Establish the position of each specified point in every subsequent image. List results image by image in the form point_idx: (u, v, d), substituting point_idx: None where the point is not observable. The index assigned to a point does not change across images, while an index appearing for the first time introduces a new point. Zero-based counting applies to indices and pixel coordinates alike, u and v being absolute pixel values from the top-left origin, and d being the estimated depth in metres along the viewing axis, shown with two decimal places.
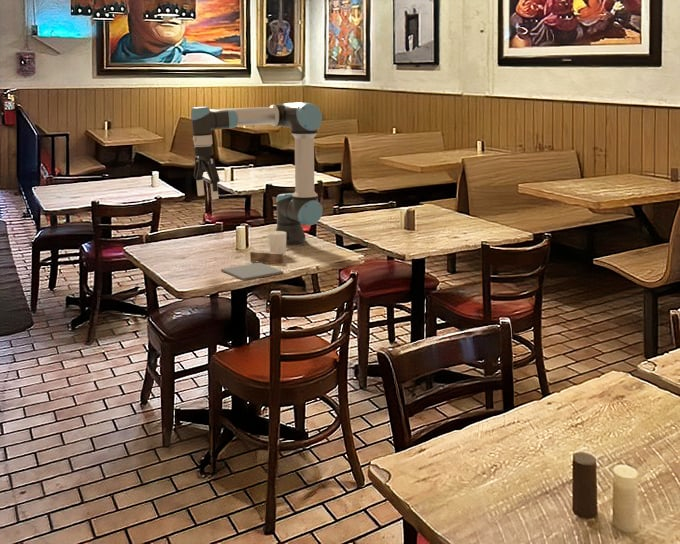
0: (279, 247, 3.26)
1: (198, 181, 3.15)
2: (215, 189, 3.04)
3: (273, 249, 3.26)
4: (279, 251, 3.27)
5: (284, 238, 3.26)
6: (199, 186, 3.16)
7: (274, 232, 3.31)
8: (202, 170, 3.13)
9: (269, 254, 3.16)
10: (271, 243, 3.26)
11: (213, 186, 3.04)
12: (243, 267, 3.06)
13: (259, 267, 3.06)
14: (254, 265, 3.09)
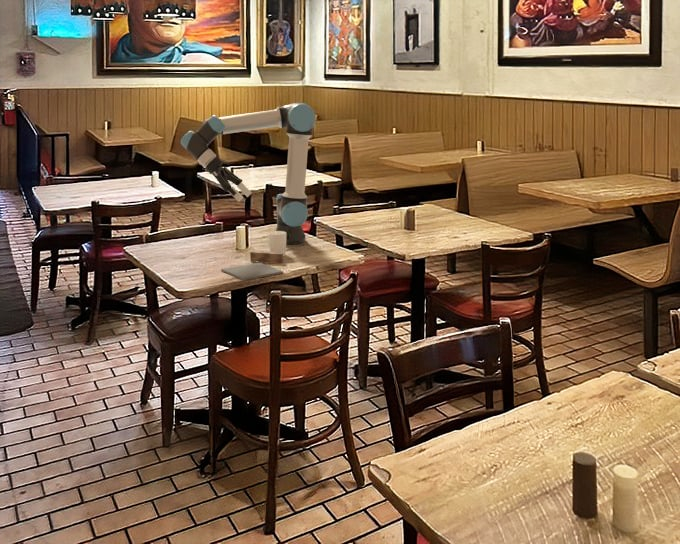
0: (279, 247, 3.26)
1: (238, 186, 3.32)
2: (232, 193, 3.18)
3: (273, 249, 3.26)
4: (279, 251, 3.27)
5: (284, 238, 3.26)
6: (242, 189, 3.33)
7: (274, 232, 3.31)
8: (231, 177, 3.29)
9: (269, 254, 3.16)
10: (271, 243, 3.26)
11: None
12: (243, 267, 3.06)
13: (259, 267, 3.06)
14: (254, 265, 3.09)
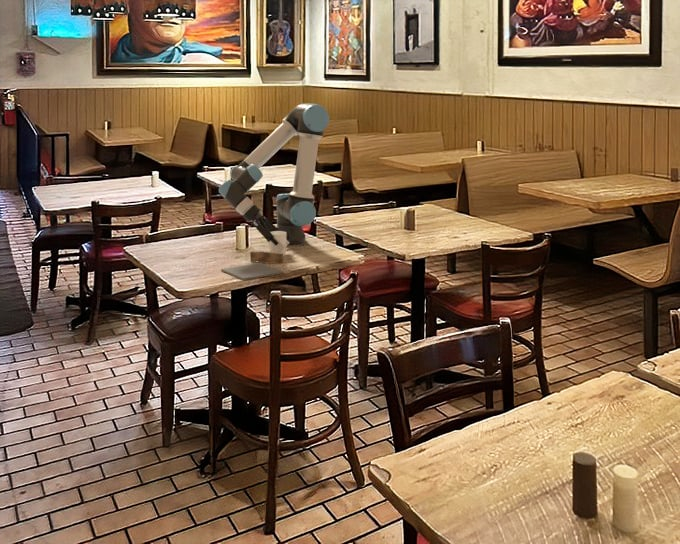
0: None
1: None
2: (275, 243, 3.23)
3: (273, 249, 3.26)
4: (279, 251, 3.27)
5: (284, 238, 3.26)
6: None
7: (274, 232, 3.31)
8: (268, 226, 3.30)
9: (269, 254, 3.16)
10: (271, 243, 3.26)
11: (272, 242, 3.24)
12: (243, 267, 3.06)
13: (259, 267, 3.06)
14: (254, 265, 3.09)
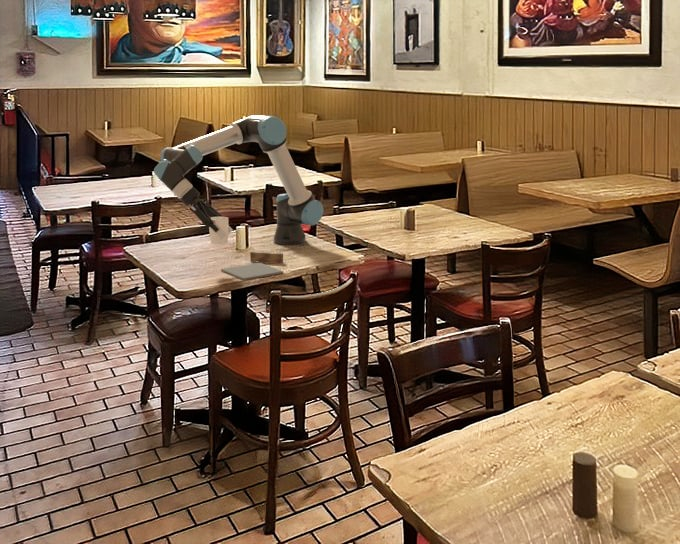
0: None
1: None
2: (215, 230, 2.94)
3: (213, 236, 2.97)
4: (220, 238, 2.97)
5: (225, 224, 2.97)
6: None
7: (215, 218, 3.02)
8: (209, 211, 3.01)
9: (269, 254, 3.16)
10: (211, 229, 2.97)
11: None
12: (243, 267, 3.06)
13: (259, 267, 3.06)
14: (254, 265, 3.09)
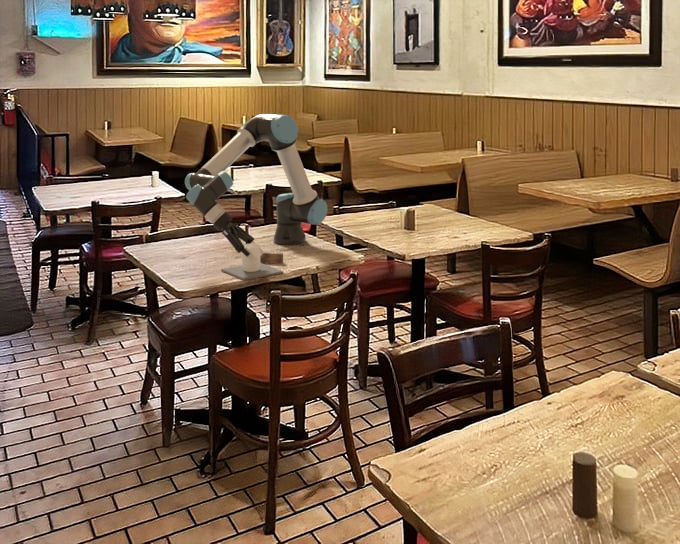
0: None
1: None
2: (246, 254, 2.93)
3: (246, 264, 2.98)
4: (252, 266, 2.98)
5: (258, 251, 2.98)
6: None
7: (247, 245, 3.02)
8: (241, 235, 3.02)
9: (269, 254, 3.16)
10: (244, 257, 2.97)
11: (243, 252, 2.93)
12: None
13: None
14: None
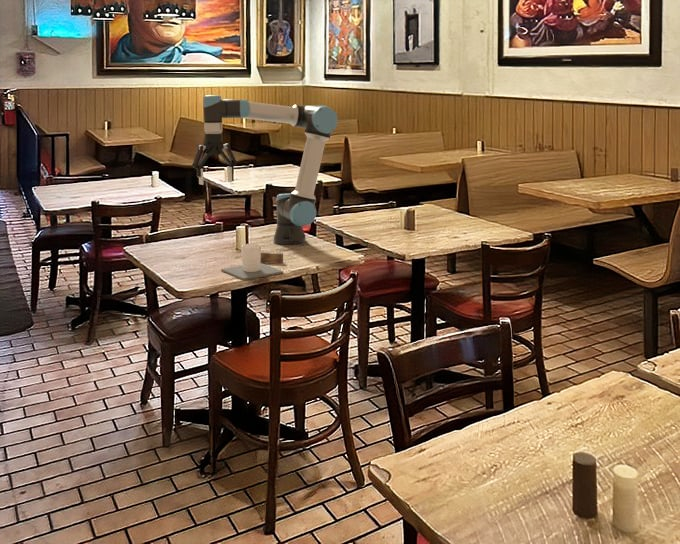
0: (253, 261, 2.97)
1: (227, 167, 3.25)
2: (197, 174, 3.16)
3: (246, 264, 2.98)
4: (253, 266, 2.98)
5: (258, 252, 2.98)
6: (228, 172, 3.25)
7: (247, 245, 3.02)
8: (223, 157, 3.21)
9: (269, 254, 3.16)
10: (244, 257, 2.97)
11: None
12: None
13: None
14: None
